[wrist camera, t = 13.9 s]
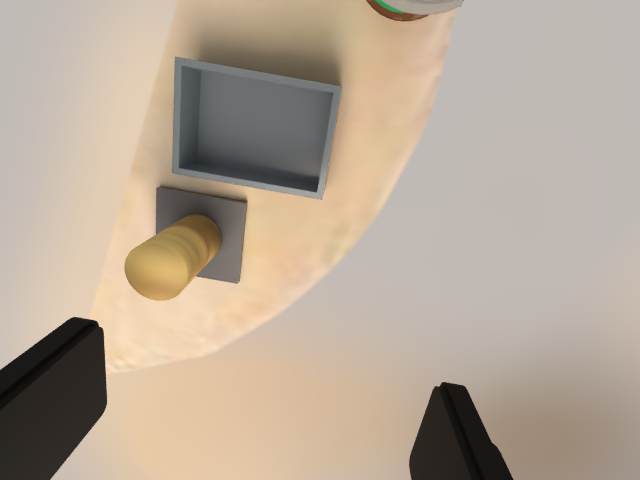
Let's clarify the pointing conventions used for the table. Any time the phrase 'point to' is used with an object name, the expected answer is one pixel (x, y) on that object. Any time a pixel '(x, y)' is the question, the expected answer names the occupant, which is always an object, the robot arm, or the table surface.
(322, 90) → the slate open box
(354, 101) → the table surface
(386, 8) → the food container
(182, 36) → the table surface
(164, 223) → the gray square plate
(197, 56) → the table surface
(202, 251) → the mustard cylinder
